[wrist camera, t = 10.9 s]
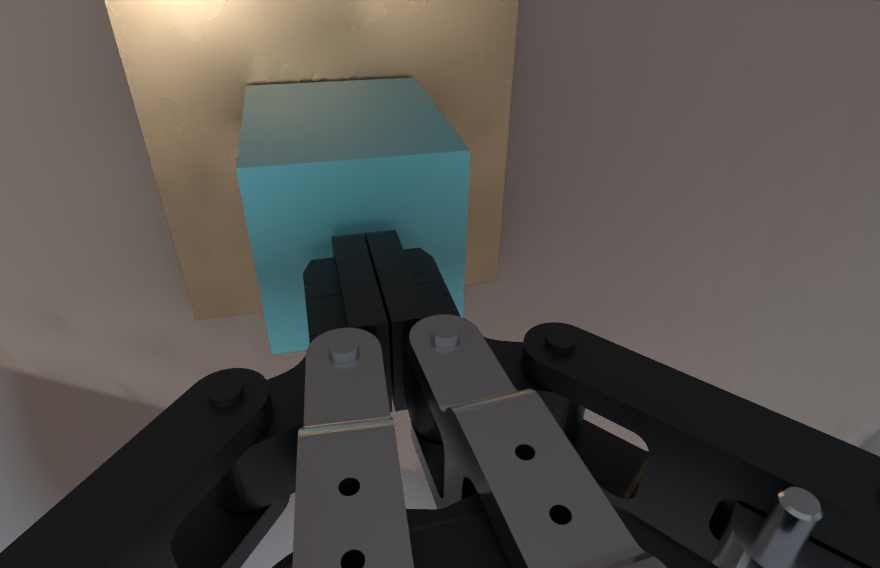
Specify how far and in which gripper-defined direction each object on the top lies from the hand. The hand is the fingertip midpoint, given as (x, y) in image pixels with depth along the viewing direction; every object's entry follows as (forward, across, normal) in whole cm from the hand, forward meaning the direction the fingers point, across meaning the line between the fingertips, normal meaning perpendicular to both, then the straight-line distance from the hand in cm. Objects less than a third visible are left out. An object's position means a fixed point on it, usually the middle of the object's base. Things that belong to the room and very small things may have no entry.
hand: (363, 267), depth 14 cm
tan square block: (+8, 0, 0) cm, 8 cm away
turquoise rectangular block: (+7, 0, 0) cm, 7 cm away
